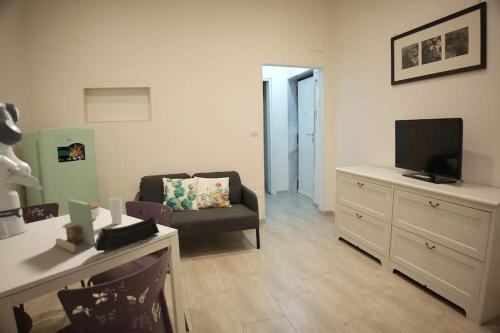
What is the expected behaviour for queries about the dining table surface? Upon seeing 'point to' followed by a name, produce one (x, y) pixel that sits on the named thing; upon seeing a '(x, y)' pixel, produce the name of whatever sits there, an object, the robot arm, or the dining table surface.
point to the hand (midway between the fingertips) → (37, 187)
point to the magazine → (125, 235)
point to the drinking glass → (116, 210)
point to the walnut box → (75, 235)
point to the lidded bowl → (95, 210)
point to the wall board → (80, 217)
